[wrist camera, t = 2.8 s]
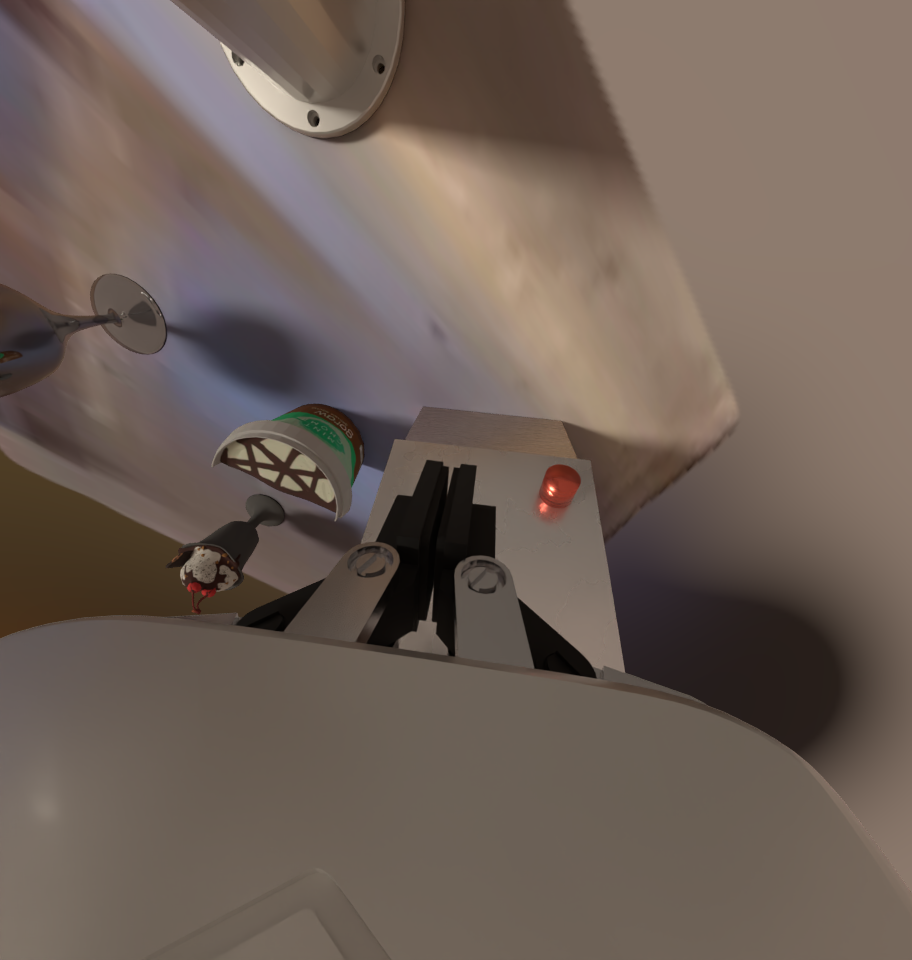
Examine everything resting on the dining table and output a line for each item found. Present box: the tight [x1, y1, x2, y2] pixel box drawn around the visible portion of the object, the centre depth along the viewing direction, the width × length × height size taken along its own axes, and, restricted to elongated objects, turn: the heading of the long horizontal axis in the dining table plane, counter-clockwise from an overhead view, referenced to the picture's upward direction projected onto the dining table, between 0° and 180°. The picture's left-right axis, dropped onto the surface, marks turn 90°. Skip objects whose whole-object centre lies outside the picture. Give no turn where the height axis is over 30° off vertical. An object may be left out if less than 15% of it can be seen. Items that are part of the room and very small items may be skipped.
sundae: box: [166, 495, 284, 614], centre depth 39 cm, size 7×7×15 cm
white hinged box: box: [405, 407, 577, 459], centre depth 36 cm, size 20×14×10 cm
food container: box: [211, 404, 364, 521], centre depth 34 cm, size 12×6×10 cm, turn 63°
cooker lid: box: [361, 439, 625, 673], centre depth 19 cm, size 20×14×3 cm
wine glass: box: [0, 274, 166, 397], centre depth 28 cm, size 8×8×15 cm
